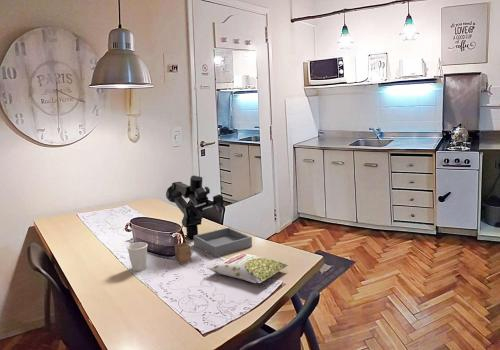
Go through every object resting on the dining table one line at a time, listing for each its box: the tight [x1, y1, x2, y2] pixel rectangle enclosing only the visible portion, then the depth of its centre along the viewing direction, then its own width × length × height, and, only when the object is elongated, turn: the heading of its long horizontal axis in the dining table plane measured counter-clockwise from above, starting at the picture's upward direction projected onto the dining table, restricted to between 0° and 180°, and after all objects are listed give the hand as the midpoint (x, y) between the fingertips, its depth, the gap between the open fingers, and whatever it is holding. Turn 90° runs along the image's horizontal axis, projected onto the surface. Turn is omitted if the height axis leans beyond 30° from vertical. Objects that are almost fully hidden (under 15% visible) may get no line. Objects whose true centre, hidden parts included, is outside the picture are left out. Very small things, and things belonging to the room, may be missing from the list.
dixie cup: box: [126, 241, 148, 272], centre depth 174 cm, size 8×8×10 cm
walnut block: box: [174, 242, 192, 265], centre depth 180 cm, size 5×5×7 cm
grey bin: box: [193, 226, 253, 257], centre depth 197 cm, size 20×20×4 cm
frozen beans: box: [207, 252, 289, 284], centre depth 165 cm, size 21×6×25 cm
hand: (211, 214), depth 187 cm, fingers open, 9 cm apart
